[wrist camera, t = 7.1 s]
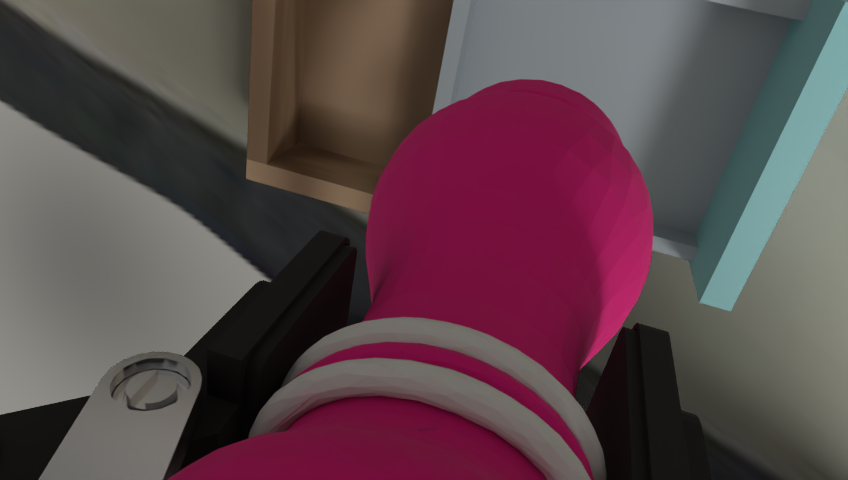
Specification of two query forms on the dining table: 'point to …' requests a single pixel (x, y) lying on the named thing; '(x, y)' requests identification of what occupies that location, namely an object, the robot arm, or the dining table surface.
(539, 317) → the pepper mill
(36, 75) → the dining table surface
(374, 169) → the cubby
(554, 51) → the drawer
